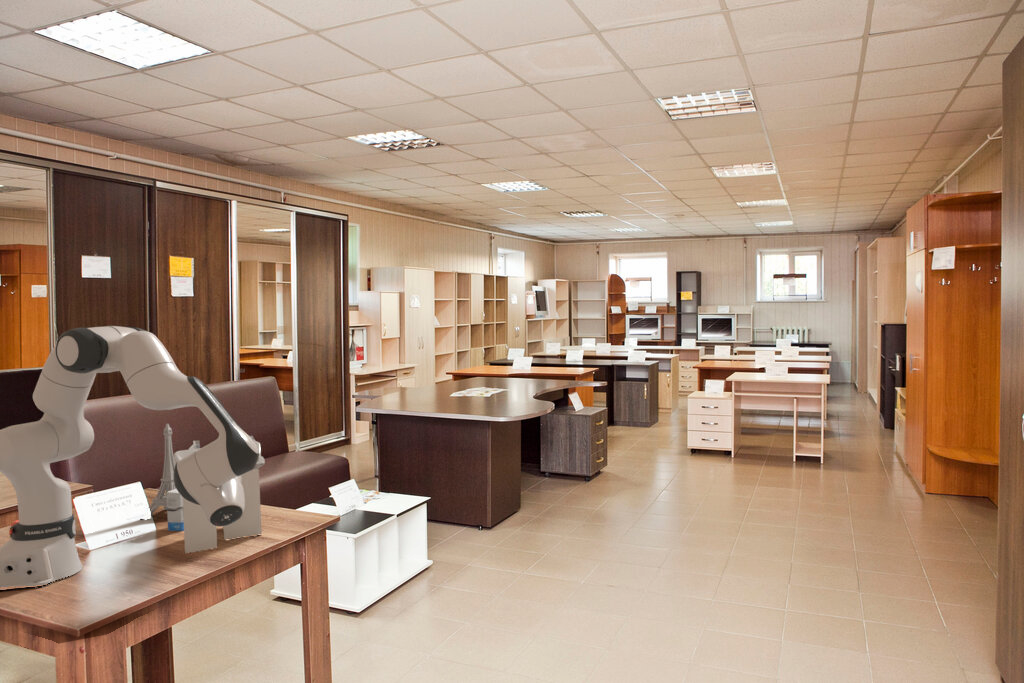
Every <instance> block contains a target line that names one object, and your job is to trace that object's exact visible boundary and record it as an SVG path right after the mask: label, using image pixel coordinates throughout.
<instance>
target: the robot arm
mask: <svg viewBox="0 0 1024 683" xmlns="http://www.w3.org/2000/svg"><path fill="white" fill-rule="evenodd" d="M179 369H180V368H178V367H177V365H176V362H175V361H174V359H173V358H172V356H171V354H170V353H169V352H168V350H167V348H166V346H165V345H164V344H163V343H162V341H161V340H160V339H159V338H158V337H157V335H155V334H154V333H153V332H150V331H148V330H145V329H142V328H139V327H136V326H121V325H120V326H119V325H117V326H116V325H106V326H94V327H85V326H84V327H76V328H72V329H71V328H70V329H68V330H66V331H64V332H62V334H61V335H60V336H59V338H58V339H57V341H56V344H55V345H54V347H53V348H52V349H51V351H50V353H49V355H48V357H47V359H46V360H45V363H44V364H43V367H42V370H41V372H40V374H39V378H38V380H37V382H36V385H35V388H34V391H33V393H32V400H33V402H34V404H35V406H36V408H37V409H38V410H40V411H41V412H43V415H42V417H41V418H40V419H39V420H37V421H31V422H26V423H20V424H15V425H10V426H6V427H4V428H2V429H0V473H1V474H2V475H3V476H5V477H6V478H7V479H8V481H9V482H10V484H11V485H12V487H13V489H14V491H15V495H16V502H17V511H18V519H16V520H14V521H13V522H12V523H11V526H10V527H9V530H8V532H9V533H8V535H9V537H10V539H9V540H8V541H6V542H5V543H4V544H3V545H1V546H0V588H1V587H9V586H36V585H45V584H47V583H50V582H52V581H54V582H56V581H55V580H57V579H60V580H62V579H61V578H63V579H66V578H69V577H71V576H73V575H75V574H77V573H79V572H80V571H81V570H83V566H84V565H83V564H82V562H81V559H80V555H79V553H78V549H77V545H76V538H75V536H76V530H77V528H76V518H75V514H74V513H73V505H72V491H71V490H72V489H71V486H70V484H69V483H68V482H67V481H65V480H63V479H61V478H59V477H56V476H55V475H54V474H53V472H52V470H51V466H50V465H51V464H52V463H57V462H60V461H64V460H69V459H72V458H75V457H77V456H80V455H81V454H83V453H85V452H87V451H89V450H90V448H91V447H92V445H93V444H94V441H95V432H94V428H93V426H92V425H91V423H90V422H89V421H88V420H87V419H86V418H85V414H84V413H85V406H86V403H87V399H88V397H89V394H90V391H91V389H92V386H93V385H94V382H95V378H96V376H97V374H106V373H108V374H109V373H114V372H120V374H121V375H122V378H123V380H124V382H125V384H126V386H127V388H128V390H129V392H130V394H131V396H132V397H133V398H134V401H135V402H137V404H139V405H140V406H142V407H143V408H146V409H149V410H153V411H166V410H169V411H171V410H175V409H180V408H189V407H196V408H198V409H199V410H200V411H201V413H203V415H204V416H205V417H206V418H207V420H208V421H209V423H211V425H212V426H213V427H214V428H215V430H216V431H217V433H218V437H217V438H216V439H215V440H214V441H211V442H210V443H208V444H206V445H204V446H203V447H201V444H200V443H201V442H200V440H198V439H197V440H193V441H192V443H193V444H192V445H191V446H189V448H188V449H184V450H183V449H182V450H178V451H176V452H173V456H174V465H175V468H174V475H173V478H174V483H175V486H176V488H175V489H177V490H178V492H179V493H180V494H181V496H182V497H184V498H185V499H186V500H188V501H190V502H192V503H195V504H197V505H201V507H202V508H203V510H204V512H205V514H206V517H207V519H208V521H209V522H210V523H211V524H212V525H214V526H216V527H223V526H227V525H229V524H232V523H233V522H235V521H237V520H238V519H240V518H241V516H242V515H243V512H244V508H245V497H244V489H243V486H242V484H241V481H242V478H241V475H242V474H244V473H246V472H249V471H251V470H253V469H259V470H260V468H262V467H263V466H264V465H265V464H266V461H265V458H264V456H262V449H261V447H262V446H261V443H260V442H259V441H256V440H255V441H253V439H252V438H251V437H250V436H251V435H249V434H247V432H246V431H244V429H243V428H242V427H241V426H240V425H239V424H238V423H237V421H236V420H235V418H234V417H233V416H232V415H231V414H230V412H229V411H228V410H227V409H226V407H225V406H224V405H223V403H222V402H221V400H219V399H218V397H217V396H216V395H215V394H214V393H213V391H212V390H211V389H210V388H209V386H208V385H206V384H205V383H204V382H203V381H202V380H201V379H199V378H197V376H187V375H186V374H184V373H182V371H181V370H179ZM68 576H69V577H68ZM65 577H66V578H65ZM57 581H58V580H57ZM52 583H53V582H52ZM50 584H51V583H50Z"/></svg>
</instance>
